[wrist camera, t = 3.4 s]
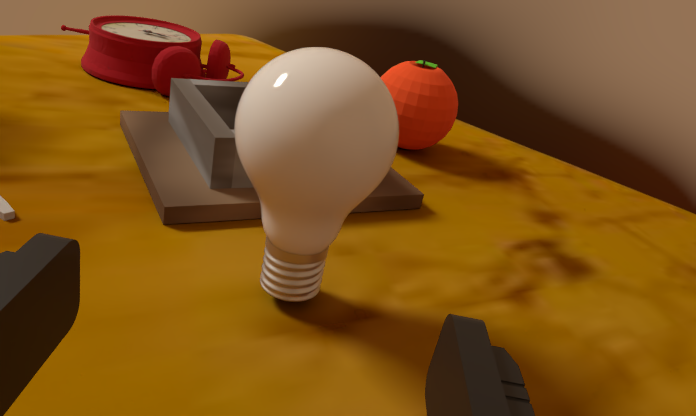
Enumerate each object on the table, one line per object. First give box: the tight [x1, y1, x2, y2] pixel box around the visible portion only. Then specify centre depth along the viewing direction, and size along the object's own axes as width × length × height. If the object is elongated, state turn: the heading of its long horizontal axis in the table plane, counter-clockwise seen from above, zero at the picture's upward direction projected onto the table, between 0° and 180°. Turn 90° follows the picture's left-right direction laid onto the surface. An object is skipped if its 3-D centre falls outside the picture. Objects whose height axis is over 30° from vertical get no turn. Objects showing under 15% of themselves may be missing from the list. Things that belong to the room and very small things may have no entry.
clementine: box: [381, 60, 458, 150], centre depth 47 cm, size 8×7×7 cm
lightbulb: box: [234, 47, 399, 302], centre depth 24 cm, size 6×6×11 cm
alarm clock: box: [61, 16, 244, 97], centre depth 51 cm, size 10×6×15 cm
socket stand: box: [120, 78, 424, 224], centre depth 38 cm, size 16×14×4 cm
